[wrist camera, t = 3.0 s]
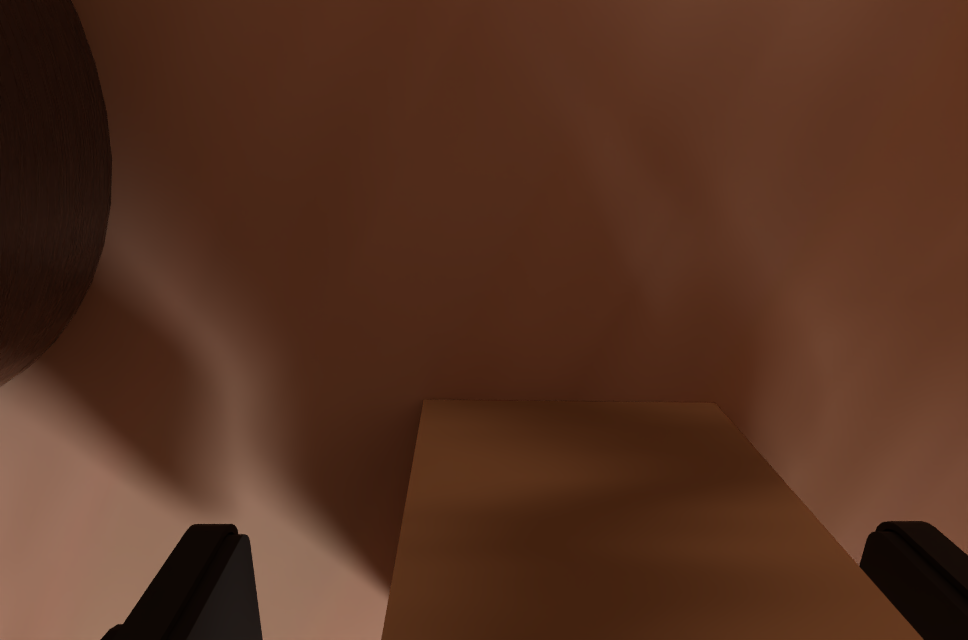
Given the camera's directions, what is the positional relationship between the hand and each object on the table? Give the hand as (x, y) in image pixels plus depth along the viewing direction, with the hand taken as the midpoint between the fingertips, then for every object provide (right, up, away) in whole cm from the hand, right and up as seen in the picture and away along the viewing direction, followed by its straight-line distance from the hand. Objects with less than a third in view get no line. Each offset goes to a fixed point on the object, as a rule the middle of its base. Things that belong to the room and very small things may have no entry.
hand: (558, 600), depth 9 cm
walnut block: (0, +1, +2) cm, 2 cm away
